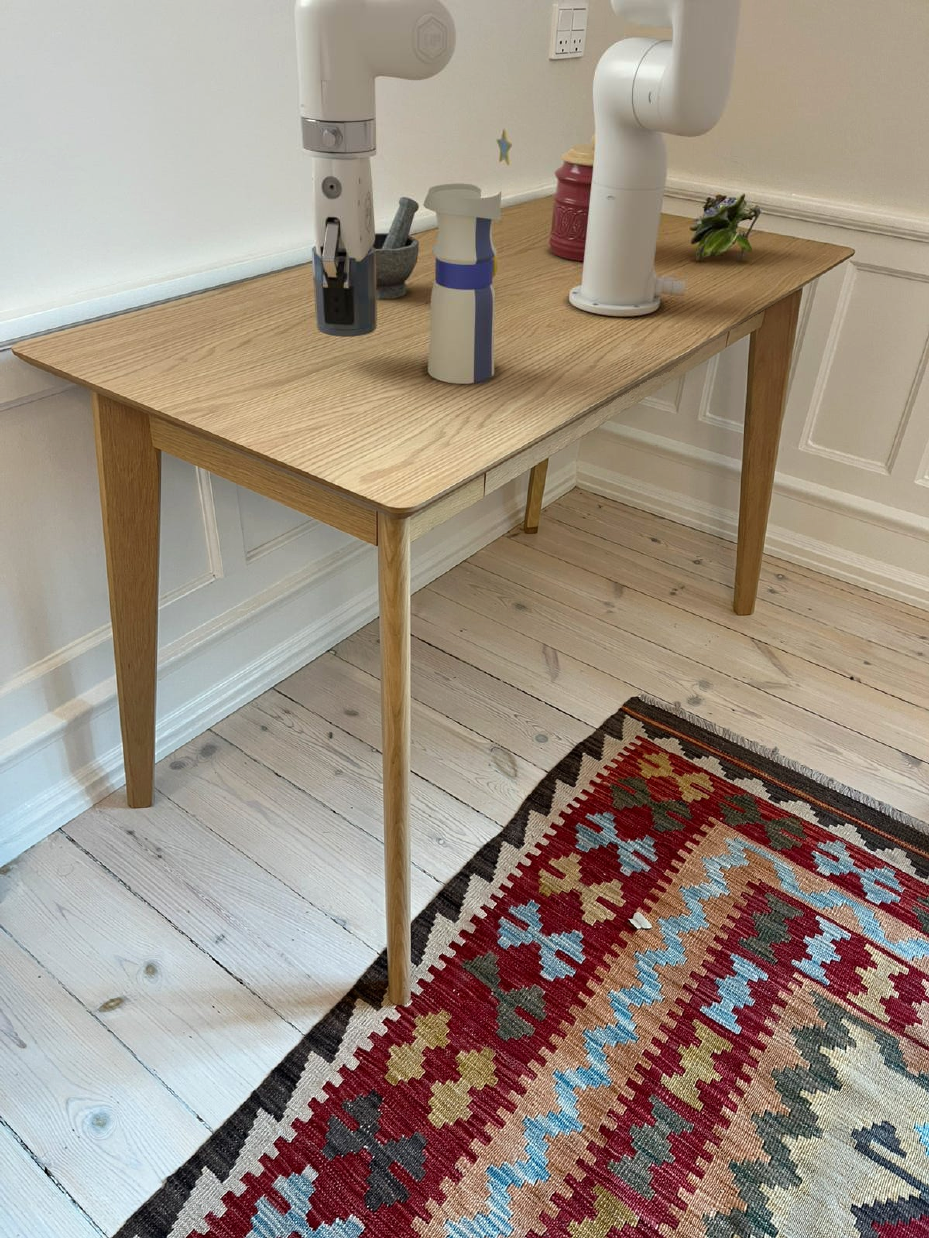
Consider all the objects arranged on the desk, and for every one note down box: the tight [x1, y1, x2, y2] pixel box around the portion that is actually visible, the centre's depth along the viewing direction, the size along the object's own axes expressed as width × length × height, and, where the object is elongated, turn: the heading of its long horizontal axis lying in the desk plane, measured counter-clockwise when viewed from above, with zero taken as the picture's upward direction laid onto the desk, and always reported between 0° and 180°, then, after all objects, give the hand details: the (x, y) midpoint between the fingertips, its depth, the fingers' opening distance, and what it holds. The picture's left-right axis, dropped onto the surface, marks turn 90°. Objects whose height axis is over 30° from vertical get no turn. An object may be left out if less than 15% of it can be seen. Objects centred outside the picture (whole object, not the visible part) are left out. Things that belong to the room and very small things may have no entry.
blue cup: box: [311, 245, 378, 338], centre depth 103 cm, size 7×7×8 cm
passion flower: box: [689, 192, 762, 262], centre depth 150 cm, size 11×11×12 cm
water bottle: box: [422, 128, 513, 385], centre depth 100 cm, size 8×9×25 cm
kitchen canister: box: [548, 133, 595, 262], centre depth 147 cm, size 13×13×18 cm
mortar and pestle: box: [373, 196, 420, 300], centre depth 128 cm, size 11×9×12 cm
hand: (346, 311), depth 105 cm, fingers closed on blue cup, 6 cm apart
